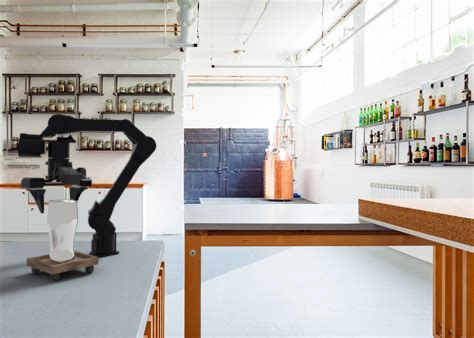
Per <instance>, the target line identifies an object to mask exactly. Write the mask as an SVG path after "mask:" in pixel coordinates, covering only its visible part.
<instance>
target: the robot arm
mask: <svg viewBox="0 0 474 338" xmlns="http://www.w3.org/2000/svg"><path fill="white" fill-rule="evenodd" d="M83 132H84V133H93V132H94V133H123V135H124V136H125V137H126V138H127V139H128V140H129V141H130V142H131V143H132V144H133V145H134V146H133V148H132V151H131V153H130V156H129V158H128V161H127V162H126V164H125V165H124V167H123V168H122V170H121V172H119V174H118V176H117V178H116V179H115V181H114V182H113V183H112V185H111V186H110V188H109V189H108V191H107V193H106V195H105V196H104V197H103V198H102V199H101V200H100V201H97V200H94V202H93V204H92V207H91V208H90V209H89V210H88V211H87V214H88V216H87V223H88V226H89V227H90V229H92V230H94V231H95V233H92V239H91V246H90V248H91V250H90V251H89V255H92V256H96V257H107V256H112V255H116V254H120V251H119V250H117V238H118V237H117V229H116V226H115V224H114V223H113V222H112V221H111V217H112V215H113V212H114V210H115V207H116V204H117V203H118V201H119V200H120V198H121V196H122V195H123V193H124V192H125V190H126V188H127V187H128V185H129V184H130V183H131V181H132V179H133V178H134V176H135V175H136V173H137V172H138V170H139V168H140V167H141V166H142V165H143V164H144V163H145V162H146V161H147V160H148V159H149V158H150V157H151V156H152V155H153V154H154V152H155V151H156V149H157V143H156V142H157V141H156V140H155V139H154V138H153V137H151V136H148V135H146V134H145V133H144V132H143V131H142V130H141V129H140V128H138V127H137V126H136V125H135V124H133V123H132V121H131V120H130V119H127V118H124V119H108V118H107V119H104V118H102V119H101V118H100V119H99V118H81V117H76V116H71V115H67V114H66V115H65V114H62V113H56V114H53V115H51V116H50V117H49V119H48V120H47V126H46V127H45V128H44V129H43V130H42V131H41V133H40V134H37V133H36V134H35V133H33V134H31V133H25V132H24V133H23V132H20V133H19V139H18V144H17V154H18V155H17V156H18V158H28V159H29V158H31V159H33V158H34V159H35V158H36V159H37V158H38V159H40V158H42V155H46V153H47V161H45V166H47V175H44V176H45V178H44V177H37V176H36V177H31V176H29V177H23V178H22V179H21V181H20V188H23V189H24V188H25V191H27V192H28V191H29V193H30V194H31V197H32V198H33V199H34V202H35V204H36V206H37V208H38V210H39V212H40V214H44V213H45V193H46V191H47V189H45V188H44V187H47V186H52V187H53V186H69V187H68V188H69V200H77V203H79V202H78V201H79V200H80V198H81V195H82V194H83V192H84V191H85V190H86V191H87V190H89V187H93V180H92V178H91V177H90V176H87V169H86V168H85V167H77V168H73V167H74V166H73V162H72V161H70V155H71V154H70V153H71V152H70V151H71V150H70V148H71V147H70V146H71V145H70V144H77V140H76V139H75V138H73V134H78V133H83ZM65 135H66V136H65ZM67 135H68V136H67ZM56 136H57V137H56ZM54 137H56V139H54V140H52V139H53V138H54ZM49 139H50V140H49Z"/></svg>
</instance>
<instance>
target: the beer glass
mask: <svg viewBox="0 0 474 338" xmlns="http://www.w3.org/2000/svg"><path fill="white" fill-rule="evenodd" d="M78 211H79V209H78V202H77V200H70V198H69V199H66V198H65V199H51V200H48V205H47V212H46V213H47V214H46V215H47V216H46V220H47V221H46V222H47V224H46V225H47V230H48V236H49V241H50V242H49V244H50V249H49V251H50V252H49V254H50V256H49V262H50V263H55V264H61V263H68V262H72V261H74V260H75V254H74V251H75V249H74V248H75V247H74V246H75V245H74V244H75V237H76V233H77V230H78V229H77V228H78V223H79V221H78V219H79V218H78V217H79V214H78V213H79V212H78Z"/></svg>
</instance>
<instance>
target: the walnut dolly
mask: <svg viewBox="0 0 474 338" xmlns="http://www.w3.org/2000/svg"><path fill="white" fill-rule="evenodd" d="M74 254H75V260H74V261H72V262H68V263H61V264H55V263H50V262H49V256H50V253H49V254H44V255H37V256H31V257H26V266H27V267H30V270H31V273H32V275H35V274H39V273H40V272H41V271H42V272H44V273H47V274H50V280H51V282H55V281H58V280H60V277H61V275H60V273H65V272H69V271H70V272H71V271H76V270H78V269H83V268H84V270H85V272H86V273H87V274H90V273H94V272H95V271H94V270H95V266H98V265H99V256H97V255H93V254H88V253H84V252H81V251H76V250H74Z"/></svg>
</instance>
